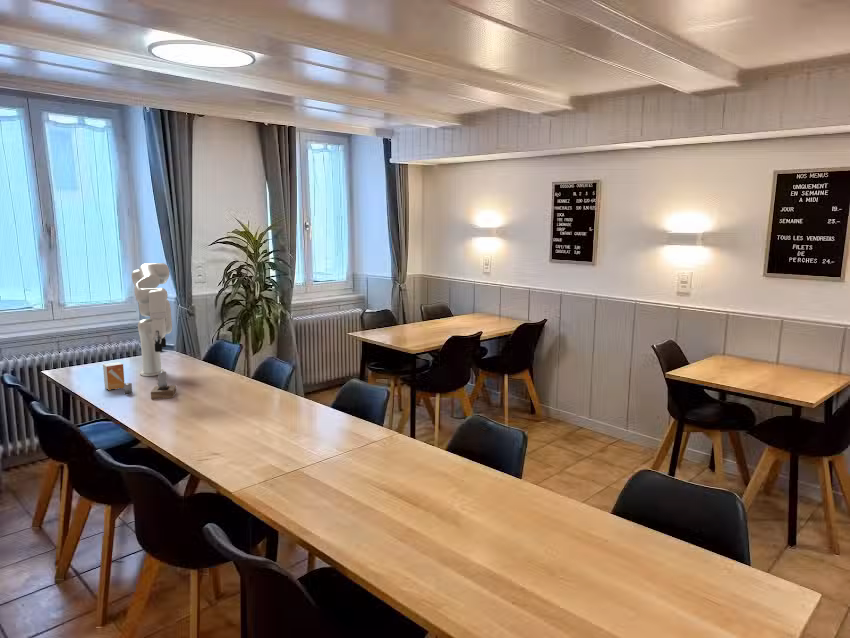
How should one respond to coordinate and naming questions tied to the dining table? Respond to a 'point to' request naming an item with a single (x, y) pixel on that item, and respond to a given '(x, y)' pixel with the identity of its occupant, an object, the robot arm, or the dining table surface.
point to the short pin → (128, 388)
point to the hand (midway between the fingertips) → (160, 349)
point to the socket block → (163, 392)
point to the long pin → (162, 380)
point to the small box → (113, 375)
